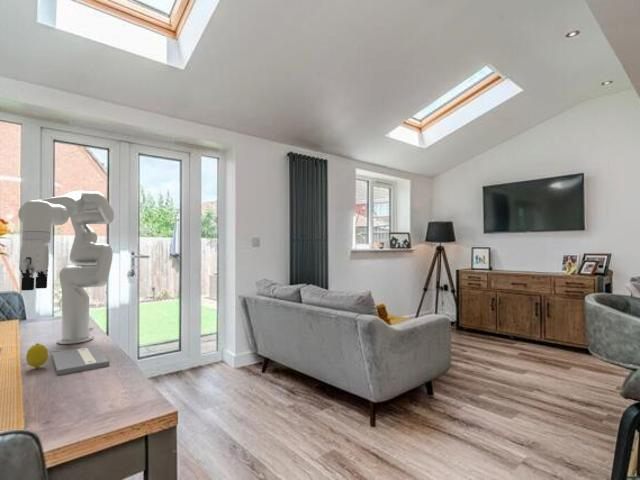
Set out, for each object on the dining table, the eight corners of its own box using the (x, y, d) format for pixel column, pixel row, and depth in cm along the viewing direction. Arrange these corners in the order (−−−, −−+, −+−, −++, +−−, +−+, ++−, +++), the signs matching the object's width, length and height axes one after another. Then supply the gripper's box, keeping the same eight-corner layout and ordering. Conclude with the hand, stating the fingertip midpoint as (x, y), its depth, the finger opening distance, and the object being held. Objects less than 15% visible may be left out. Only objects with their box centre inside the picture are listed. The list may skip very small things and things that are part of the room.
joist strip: (77, 349, 134) (77, 349, 134) (86, 348, 136) (86, 347, 136) (85, 364, 117) (85, 363, 117) (96, 362, 119) (96, 361, 119)
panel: (51, 356, 130) (51, 352, 130) (97, 349, 139) (97, 345, 139) (57, 375, 111) (57, 370, 111) (109, 365, 120) (109, 361, 120)
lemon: (51, 366, 119) (51, 342, 119) (32, 372, 114) (32, 346, 114) (41, 364, 121) (41, 340, 122) (22, 369, 116) (22, 344, 117)
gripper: (35, 239, 129) (33, 288, 128) (9, 235, 113) (7, 291, 111) (59, 239, 131) (58, 287, 130) (38, 236, 115) (36, 290, 114)
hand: (34, 289), depth 121 cm, fingers open, 9 cm apart
